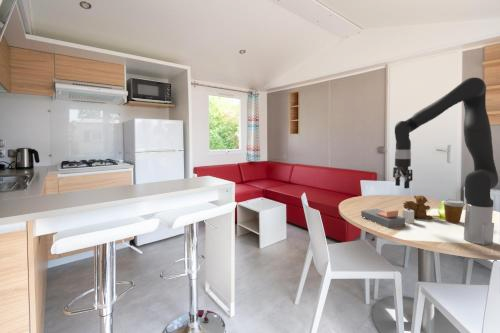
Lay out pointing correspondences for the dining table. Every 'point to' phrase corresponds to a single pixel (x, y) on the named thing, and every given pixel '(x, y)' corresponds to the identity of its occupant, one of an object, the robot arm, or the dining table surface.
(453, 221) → the disposable coffee cup
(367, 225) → the dining table surface
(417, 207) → the stuffed squirrel
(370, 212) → the socket block
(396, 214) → the shutter
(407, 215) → the plug
